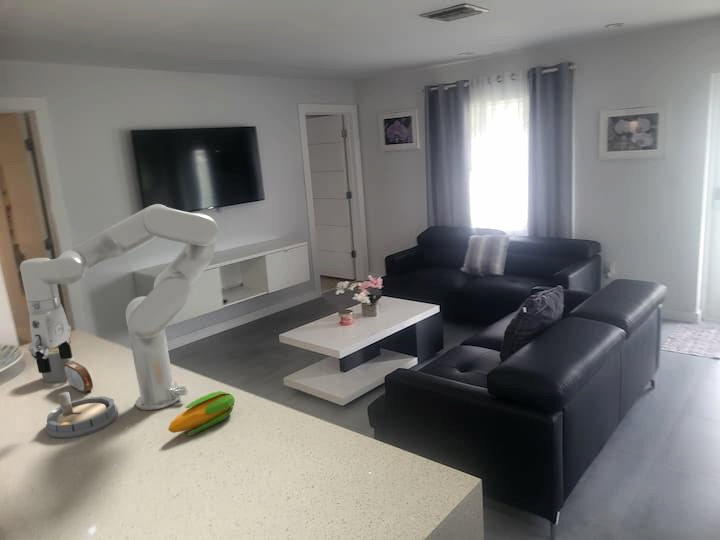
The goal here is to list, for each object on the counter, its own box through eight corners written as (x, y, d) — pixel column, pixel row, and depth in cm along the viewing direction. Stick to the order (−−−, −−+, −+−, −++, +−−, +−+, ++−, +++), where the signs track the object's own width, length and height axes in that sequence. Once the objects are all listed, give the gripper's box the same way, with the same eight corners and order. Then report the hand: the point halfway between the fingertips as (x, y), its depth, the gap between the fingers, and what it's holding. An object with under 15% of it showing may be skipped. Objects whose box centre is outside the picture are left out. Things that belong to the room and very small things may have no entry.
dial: (114, 405, 159) (110, 382, 157) (92, 426, 146) (87, 402, 145) (73, 407, 159) (68, 384, 158) (47, 428, 147) (42, 404, 146)
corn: (239, 387, 149) (174, 418, 134) (244, 413, 151) (180, 446, 136) (222, 383, 154) (158, 412, 139) (227, 408, 155) (164, 440, 140)
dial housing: (129, 405, 161) (127, 393, 161) (98, 437, 144) (95, 424, 143) (70, 408, 163) (68, 396, 162) (32, 440, 145) (29, 427, 144)
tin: (95, 392, 173) (90, 367, 171) (85, 396, 171) (80, 370, 169) (75, 381, 183) (70, 358, 181) (65, 385, 180) (60, 361, 179)
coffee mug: (38, 379, 187) (32, 351, 185) (67, 368, 195) (62, 342, 193) (56, 387, 179) (50, 358, 177) (86, 376, 187) (80, 348, 185)
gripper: (37, 313, 137) (50, 377, 141) (76, 295, 154) (86, 353, 158) (8, 315, 138) (22, 378, 141) (50, 296, 155) (61, 354, 158)
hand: (56, 365), depth 150 cm, fingers open, 9 cm apart
